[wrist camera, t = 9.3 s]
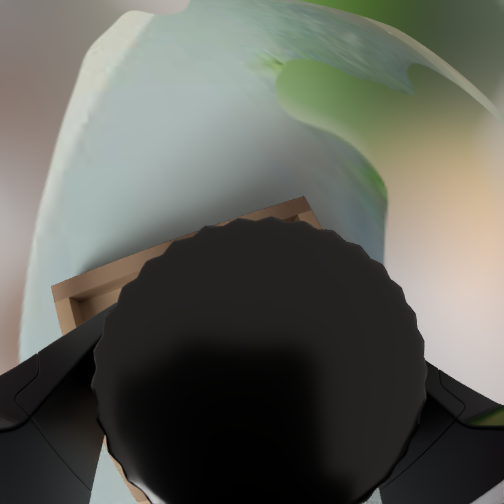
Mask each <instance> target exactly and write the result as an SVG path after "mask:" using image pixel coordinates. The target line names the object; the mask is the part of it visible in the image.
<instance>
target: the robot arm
mask: <svg viewBox="0 0 504 504" xmlns="http://www.w3.org/2000/svg"><path fill="white" fill-rule="evenodd" d="M116 305H117V303H114V304H112V305H111V306H109V307H108V308H106V309H104V310H103V311H101V312H100V313H98V314H96V315H95V316H93V317H92V318H90V319H89V320H87V321H85V322H84V323H82V324H81V325H79V326H78V327H76V328H75V329H73V330H71V331H70V332H68V333H67V334H65V335H64V336H62V337H61V338H59V339H58V340H56V341H54V342H53V343H51V344H50V345H48V346H47V347H45V348H44V349H42V350H41V351H39V352H38V354H35V355H33V356H32V357H30V358H29V359H27V360H26V361H24V362H22V363H21V364H19V365H18V366H16V367H14V368H13V369H11V370H9V371H7V372H6V373H4V374H2V375H0V504H89V502H90V497H91V491H92V486H93V482H94V477H95V473H96V468H97V464H98V460H99V456H100V452H101V448H102V444H103V440H104V436H105V434H104V432H103V431H102V429H101V428H100V427H99V425H98V423H97V421H96V409H97V401H96V398H95V396H94V394H93V391H92V388H91V383H92V379H93V376H94V374H95V371H96V364H95V361H94V349H95V347H96V345H97V343H98V342H99V340H100V339H101V337H102V336H103V322H104V317H105V316H106V315H107V314H108V312H109V311H110V310H112V309H113V308H114V307H115V306H116ZM425 361H426V360H425ZM426 364H427V368H428V373H427V378H426V382H425V389H426V398H427V399H426V402H425V404H424V407H423V408H422V411H421V414H420V426H419V429H418V430H417V432H416V434H415V435H414V437H413V438H412V439H411V441H410V444H409V449H408V452H407V455H406V456H405V457H404V458H403V459H402V460H401V461H400V462H399V463H398V464H397V465H396V467H395V469H394V471H393V473H392V475H391V477H390V478H389V480H387V481H386V482H385V483H384V484H382V485H381V486H379V490H380V496H381V500H382V504H504V405H501V404H498V403H496V402H494V401H492V400H490V399H489V398H487V397H485V396H483V395H481V394H479V393H478V392H476V391H474V390H472V389H471V388H469V387H467V386H465V385H463V384H462V383H460V382H458V381H457V380H455V379H454V378H452V377H450V376H448V375H447V374H446V373H444V372H443V371H441V370H438V368H436V367H435V366H433V365H432V364H430V363H429V362H427V361H426Z"/></svg>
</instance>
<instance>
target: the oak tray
mask: <svg viewBox="0 0 504 504" xmlns="http://www.w3.org/2000/svg"><path fill="white" fill-rule="evenodd" d="M270 216H273V217H276V218H279V219H281V220H283V221H286V222H292V221H305V222H307V223H309V224H311V225H312V226H313V227H315V228H317V229H322V228H321V226H320V224H319V223H318V221H317V219H316V217H315V215H314V213H313V211H312V210H311V208H310V206H309V204H308V202H307V200H306V199H305V197H304V196H303V197H300V198H297V199H293V200H290V201H287V202H284V203H281V204H278V205H274V206H271V207H268V208H265V209H262V210H259V211H256V212H253V213H250V214H247V215H244V216H241V217H238V218H244V219H250V220H254V221H257V220H260V219H262V218H266V217H270ZM235 219H237V218H235ZM235 219H232V220H229V221H226V222H223V223H220V224H217V225H214V226H224V225H225V224H227V223H229V222H230V221H233V220H235ZM197 232H198V231H196V232H193V233H191V234H188V235H185V236H182V237H179V238H176V239H174V240H171V241H168V242H165V243H162V244H160V245H157V246H154V247H151V248H149V249H146V250H143V251H140V252H138V253H135V254H132V255H130V256H127V257H124V258H122V259H119V260H116V261H114V262H111V263H108V264H106V265H103V266H101V267H98V268H95V269H93V270H90V271H88V272H85V273H83V274H80V275H78V276H75V277H73V278H70V279H68V280H65V281H63V282H60V283H58V284H55V285H53V286H51V288H52V293H53V298H54V303H55V307H56V311H57V316H58V320H59V324H60V328H61V331H62V335H63V336H64V335H65V334H67V333H68V332H70V331H71V330H73V329H75V328H76V327H78V326H79V325H81V324H82V323H84V322H85V321H87V320H89V319H90V318H92V317H93V316H95V315H96V314H98V313H100V312H101V311H103V310H104V309H106V308H108V307H109V306H111V305H112V304H114V303H117V302H118V298H119V294H120V292H121V289H122V287H123V286H124V285H126V284H127V283H128V282H130V281H132V280H134V279H135V278H137V277H138V275H139V272H140V270H141V268H142V267H143V265H144V263H145V262H146V261H147V260H150V259H152V258H154V257H158V256H160V255H162V254H163V253H164V252H165V251H166V249H167V248H168V247H169V245H170V244H171V243H172V242H173V241H175V240H178V239H182V238H188V237H192V236H193V235H195V234H196V233H197ZM103 443H104V445H105V447H106V449H107V445H106V436H104V440H103ZM107 451H108V450H107ZM109 455H110V454H109ZM110 457H111V459H112V460H113V462H114V464H115V466H116V468H117V470H118V471H119V473H120V475H121V477H122V478H123V480H124V482H125V483H126V485H127V487H128V488H129V490H130V491H131V493H132V495H133V496H134V498H135V499H136V501H137V502H138V504H151V503H150V502H149V501H148V500H147V498H146V497H145V495H144V493H143V492H142V491H141V490H139V489H138V488H137V487H135V486H133V485H132V484H130V483H129V482H128V481H127V480H126V478H125V476H124V473H123V470H122V467H121V465H120V464H119V463H118V462H116V461H115V460H114V458H113V457H112V456H111V455H110Z"/></svg>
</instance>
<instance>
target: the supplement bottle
mask: <svg viewBox="0 0 504 504" xmlns="http://www.w3.org/2000/svg"><path fill="white" fill-rule="evenodd" d="M94 361H95V364H96V371H95V374H94V376H93V379H92V383H91V388H92V391H93V394H94V396H95V398H96V401H97V409H96V421H97V423H98V425H99V427H100V428H101V429H102V431H103V432H104V434H105V436H106V445H107V450H108V453H109V454H110V455H111V456H112V457H113V458H114V460H115V461H116V462H118V463H119V464H120V465H121V467H122V470H123V473H124V476H125V478H126V480H127V481H128V482H129V483H130V484H132V485H133V486H135V487H137V488H138V489H139V490H141V491H142V492H143V493H144V495H145V497H146V498H147V500H148V501H149V502H150V503H151V504H362V503H364V502H366V501H367V500H368V499H369V498H370V497H371V495H372V494H373V492H374V491H375V490H376V489H377V488H378V487H379V486H381V485H382V484H384V483H385V482H386V481H387V480H389V478H390V477H391V475H392V473H393V471H394V469H395V467H396V465H397V464H398V463H399V462H400V461H401V460H402V459H403V458H404V457H405V456H406V455H407V452H408V449H409V444H410V441H411V439H412V438H413V437H414V435H415V434H416V432H417V430H418V429H419V426H420V414H421V411H422V408H423V407H424V404H425V402H426V399H427V398H426V389H425V382H426V378H427V373H428V368H427V364H426V361H425V358H424V339H423V337H422V335H421V334H420V332H419V330H418V328H417V319H416V314H415V312H414V311H413V310H412V308H411V307H410V306H409V305H408V304H407V303H406V300H405V296H404V293H403V290H402V288H401V287H400V286H399V285H398V284H397V283H395V282H394V281H393V280H391V279H390V277H389V275H388V273H387V271H386V269H385V267H384V266H383V265H382V264H381V263H379V262H377V261H375V260H373V259H371V258H370V257H369V256H368V255H367V253H366V252H365V251H364V250H363V248H362V247H361V246H360V245H357V244H354V243H350V242H346V241H345V240H343V239H342V238H341V237H340V236H339V235H338V234H337V233H336V232H334V231H332V230H323V229H317V228H315V227H313V226H312V225H311V224H309V223H307V222H305V221H292V222H286V221H283V220H281V219H279V218H276V217H273V216H270V217H266V218H262V219H260V220H257V221H254V220H250V219H244V218H237V219H235V220H233V221H230V222H229V223H227V224H225V225H224V226H205V227H203V228H202V229H201V230H199V231H198V232H197V233H196V234H195V235H193V236H192V237H188V238H182V239H178V240H175V241H173V242H172V243H171V244H170V245H169V247H168V248H167V249H166V251H165V252H164V253H163V254H162V255H160V256H158V257H154V258H152V259H150V260H147V261H146V262H145V263H144V265H143V267H142V268H141V270H140V272H139V275H138V277H137V278H135V279H134V280H132V281H130V282H128V283H127V284H126V285H124V286H123V287H122V289H121V292H120V294H119V298H118V302H117V305H116V306H115V307H114V308H113V309H112V310H110V311H109V312H108V314H107V315H106V316H105V317H104V322H103V336H102V337H101V339H100V340H99V342H98V343H97V345H96V347H95V349H94Z"/></svg>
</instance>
